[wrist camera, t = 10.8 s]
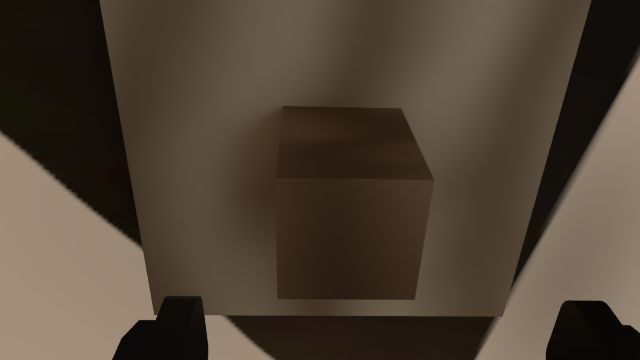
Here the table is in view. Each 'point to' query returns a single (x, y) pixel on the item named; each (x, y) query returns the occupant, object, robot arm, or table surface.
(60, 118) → the table surface
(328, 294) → the lid
